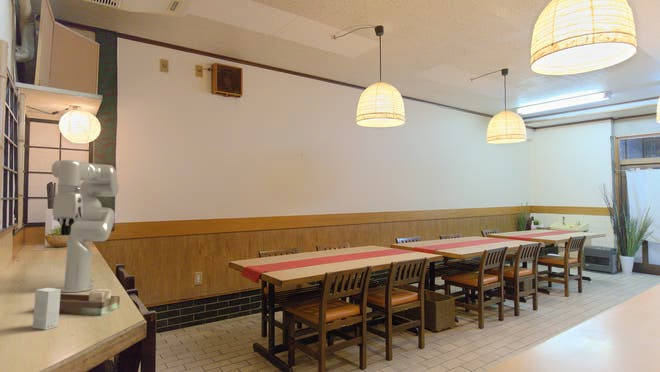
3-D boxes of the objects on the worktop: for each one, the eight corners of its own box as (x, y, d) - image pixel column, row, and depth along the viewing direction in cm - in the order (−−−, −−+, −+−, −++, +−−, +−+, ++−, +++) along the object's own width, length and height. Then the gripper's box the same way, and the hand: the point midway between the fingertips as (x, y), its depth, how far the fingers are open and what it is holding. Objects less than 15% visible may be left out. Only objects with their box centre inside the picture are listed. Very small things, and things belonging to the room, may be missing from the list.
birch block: (97, 302, 143) (98, 289, 143) (110, 303, 143) (111, 289, 143) (88, 306, 138) (89, 292, 138) (101, 306, 138) (102, 292, 138)
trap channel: (56, 305, 147) (57, 293, 147) (118, 308, 146) (119, 296, 146) (34, 312, 137) (35, 299, 137) (101, 315, 135) (102, 302, 135)
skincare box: (58, 326, 122) (61, 289, 123) (44, 330, 118) (48, 291, 119) (45, 324, 124) (48, 287, 125) (31, 327, 120) (34, 289, 121)
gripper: (92, 191, 159) (89, 235, 158) (58, 189, 159) (55, 233, 159) (79, 190, 151) (76, 236, 151) (44, 189, 152) (40, 235, 151)
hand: (65, 234), depth 155 cm, fingers closed
